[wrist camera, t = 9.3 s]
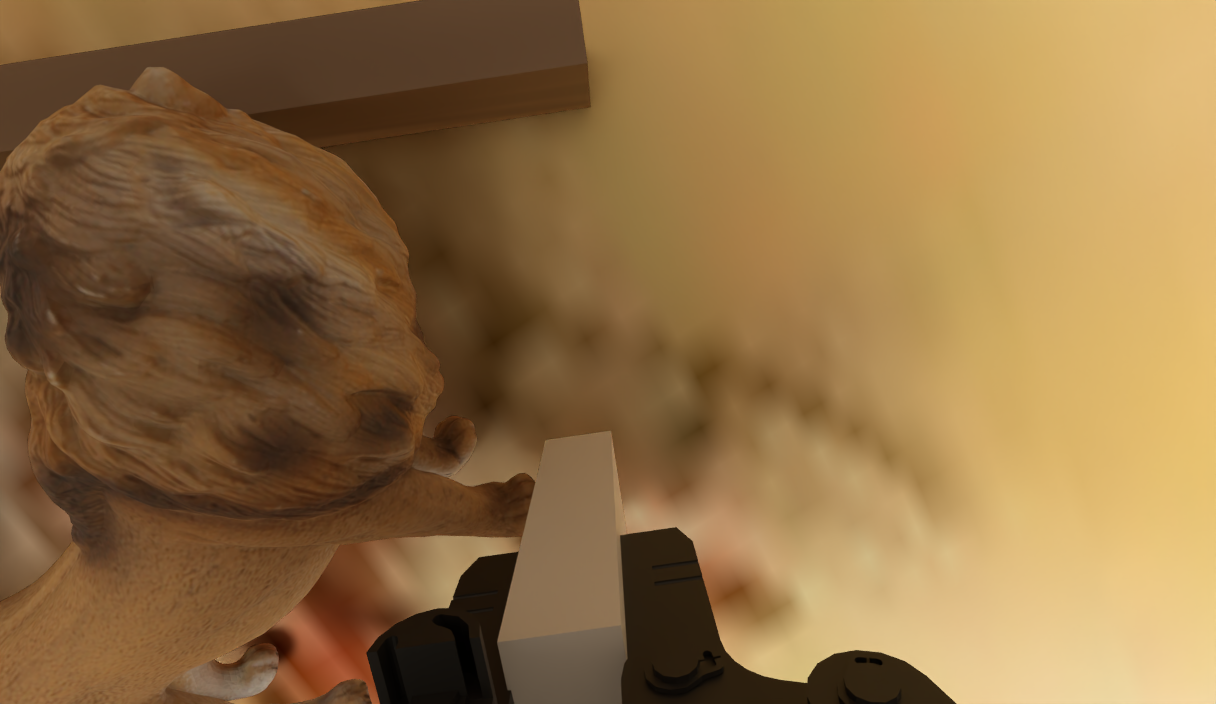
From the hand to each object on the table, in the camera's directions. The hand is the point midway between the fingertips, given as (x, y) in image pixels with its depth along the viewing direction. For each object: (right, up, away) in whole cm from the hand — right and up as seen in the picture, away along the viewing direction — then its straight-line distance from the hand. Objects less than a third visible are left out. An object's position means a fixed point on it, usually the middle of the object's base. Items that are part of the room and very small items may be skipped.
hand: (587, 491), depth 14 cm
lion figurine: (-4, -1, +1) cm, 4 cm away
